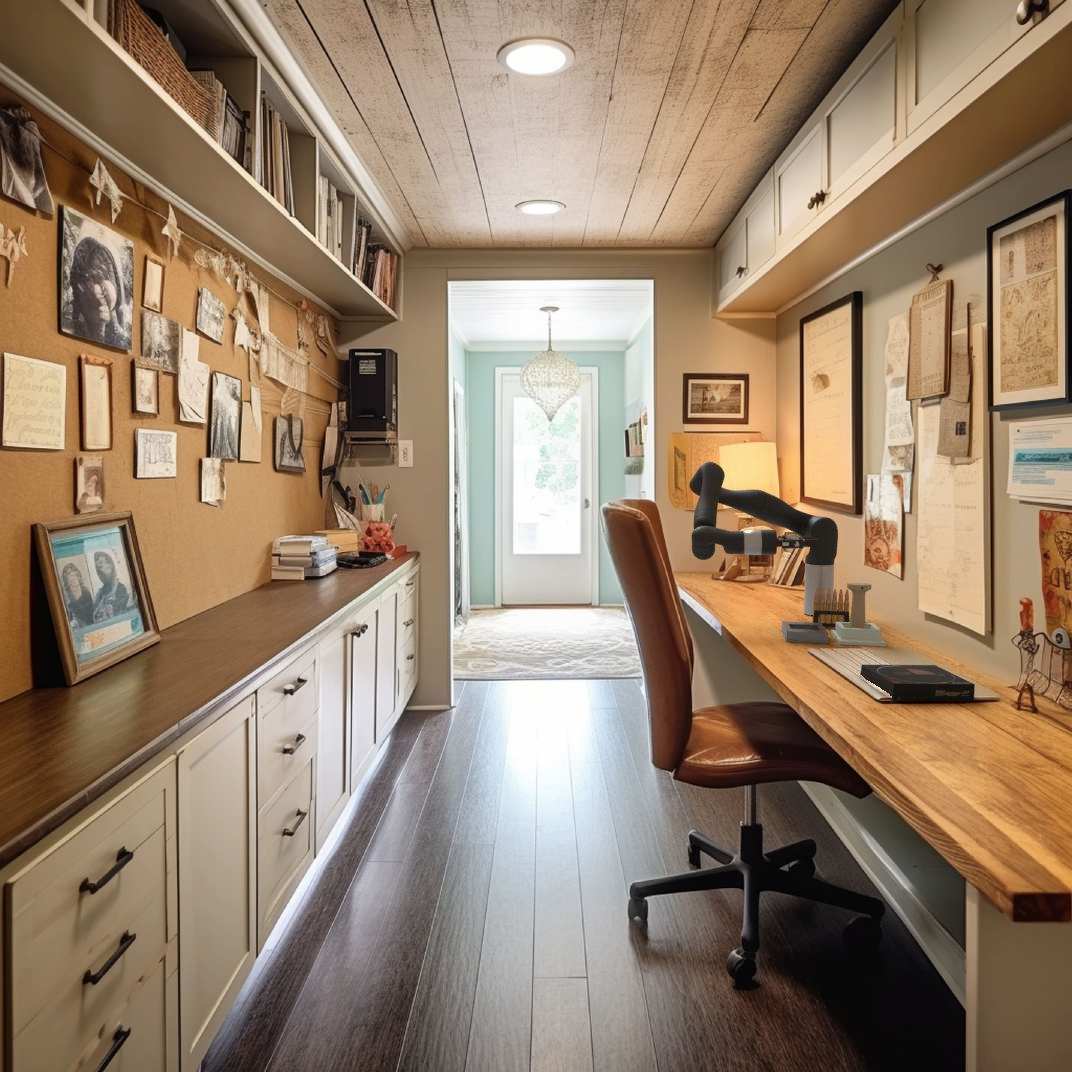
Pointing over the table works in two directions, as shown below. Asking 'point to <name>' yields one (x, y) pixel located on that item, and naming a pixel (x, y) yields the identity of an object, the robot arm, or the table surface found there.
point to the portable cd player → (919, 682)
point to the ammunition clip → (828, 615)
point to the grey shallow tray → (858, 635)
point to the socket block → (804, 632)
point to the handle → (858, 604)
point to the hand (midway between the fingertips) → (816, 541)
